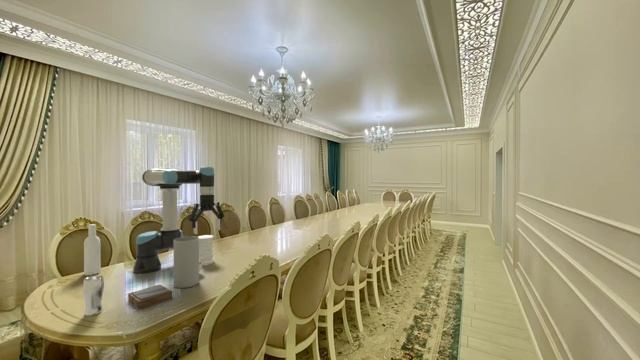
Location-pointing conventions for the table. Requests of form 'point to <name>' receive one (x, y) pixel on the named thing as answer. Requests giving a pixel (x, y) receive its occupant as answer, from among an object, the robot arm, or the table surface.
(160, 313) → the table surface
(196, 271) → the cylinder vase
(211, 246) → the decorative container
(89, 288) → the beer glass
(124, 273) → the table surface
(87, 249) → the bottle
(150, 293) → the walnut stand
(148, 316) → the table surface
